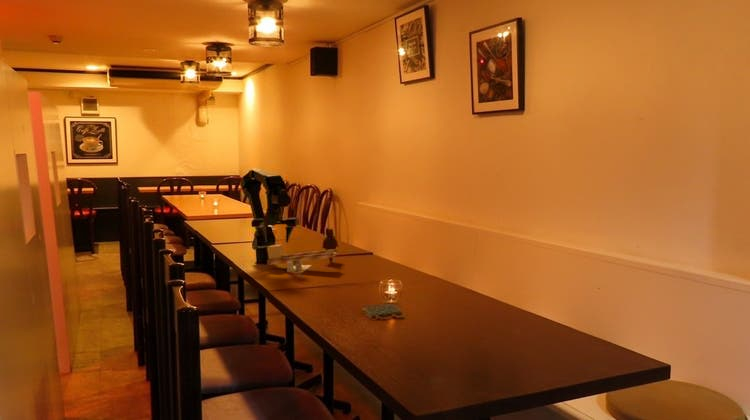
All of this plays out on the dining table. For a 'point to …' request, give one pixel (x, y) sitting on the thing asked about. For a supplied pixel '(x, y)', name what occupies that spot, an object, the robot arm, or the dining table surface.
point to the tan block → (275, 251)
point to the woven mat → (383, 311)
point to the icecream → (329, 241)
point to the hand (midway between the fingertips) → (276, 243)
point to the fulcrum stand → (297, 267)
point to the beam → (304, 256)
